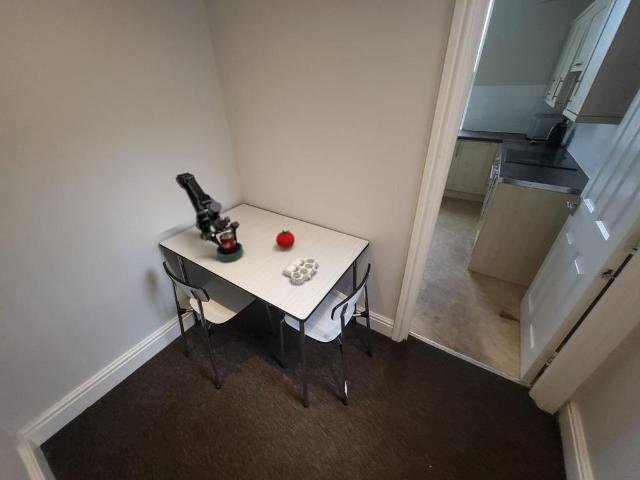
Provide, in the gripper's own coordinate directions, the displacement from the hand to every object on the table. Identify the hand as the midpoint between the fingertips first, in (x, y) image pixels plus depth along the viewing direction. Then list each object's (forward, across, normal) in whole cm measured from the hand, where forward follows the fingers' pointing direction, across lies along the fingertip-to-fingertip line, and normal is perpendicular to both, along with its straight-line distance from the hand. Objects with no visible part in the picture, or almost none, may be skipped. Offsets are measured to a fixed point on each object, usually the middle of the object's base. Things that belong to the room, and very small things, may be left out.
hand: (229, 244), depth 135 cm
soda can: (+4, 0, +6) cm, 7 cm away
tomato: (+15, +26, -4) cm, 31 cm away
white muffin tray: (+32, +18, -21) cm, 42 cm away
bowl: (+4, 0, +6) cm, 7 cm away
